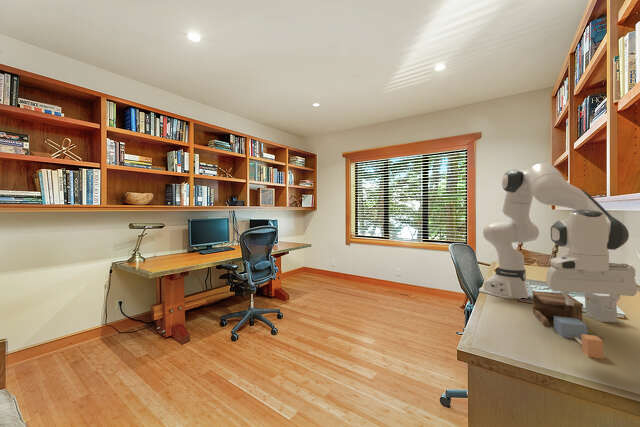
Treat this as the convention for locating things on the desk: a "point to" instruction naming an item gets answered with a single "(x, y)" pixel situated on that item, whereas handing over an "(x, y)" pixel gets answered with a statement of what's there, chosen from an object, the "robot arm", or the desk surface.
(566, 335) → the cube on a stick
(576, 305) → the shelf
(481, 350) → the desk surface
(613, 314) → the small box
